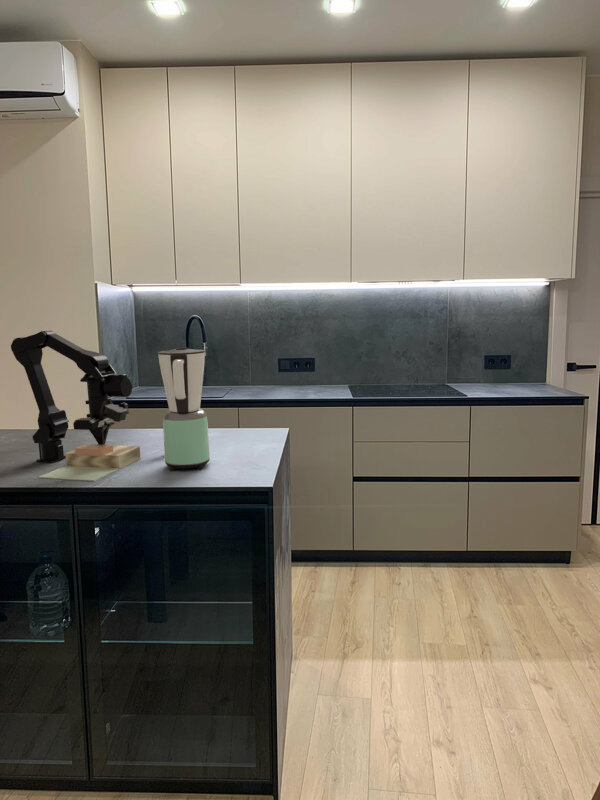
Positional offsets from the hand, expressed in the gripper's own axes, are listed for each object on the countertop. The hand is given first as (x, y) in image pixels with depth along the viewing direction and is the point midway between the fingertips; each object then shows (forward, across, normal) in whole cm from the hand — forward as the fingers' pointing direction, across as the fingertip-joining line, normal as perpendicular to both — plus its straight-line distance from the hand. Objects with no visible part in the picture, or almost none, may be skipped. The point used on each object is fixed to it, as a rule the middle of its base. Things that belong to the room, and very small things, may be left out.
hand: (102, 446), depth 183 cm
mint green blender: (+5, 0, -28) cm, 28 cm away
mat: (+5, -12, 0) cm, 13 cm away
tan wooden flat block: (+5, 0, 0) cm, 5 cm away
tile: (+1, -4, 0) cm, 4 cm away
